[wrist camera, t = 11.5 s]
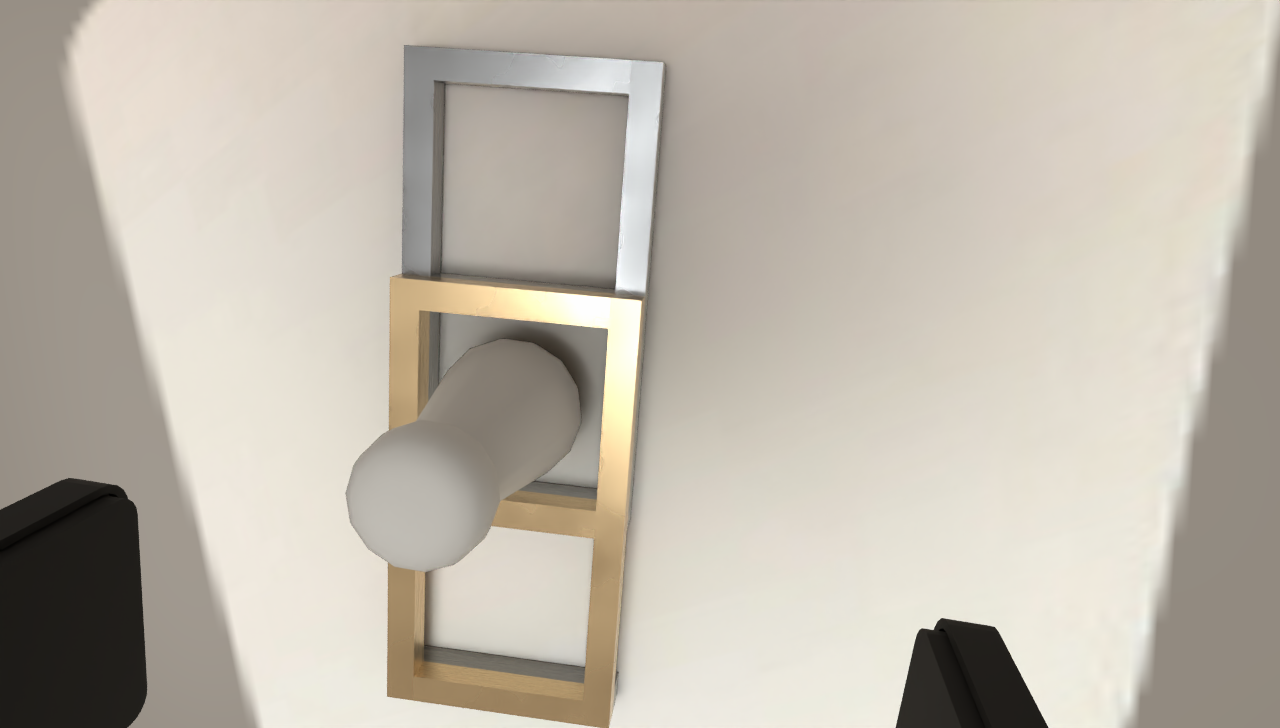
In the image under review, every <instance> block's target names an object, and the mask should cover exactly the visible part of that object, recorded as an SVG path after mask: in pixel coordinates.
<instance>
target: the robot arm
mask: <svg viewBox="0 0 1280 728" xmlns="http://www.w3.org/2000/svg"><path fill="white" fill-rule="evenodd" d="M145 659H146V658H145V641H144V624H143V606H142V587H141V568H140V550H139V532H138V514H137V509H136V506H135V505H134V503H133V502H132V501H130V500H129V499H128V497H127V495H126V493H125V492H124V490H123V489H122V488H120V487H119V486H117V485H111V484H105V483H99V482H93V481H86V480H80V479H73V478H68V479H65V480H61V481H59V482H57V483H55V484H53V485H51V486H49V487H46V488H44V489H42V490H40V491H38V492H36V493H34V494H32V495H30V496H28V497H26V498H24V499H22V500H20V501H17V502H15V503H14V504H11V505H9V506H7V507H5V508H3V509H1V510H0V728H127V727H129V725H131V724H132V723H133V721H134V720H135V719H136V718H137V716H138V714H139V713H140V712H141V709H142V707H143V705H144V703H145V699H146V695H147V678H146V660H145ZM896 728H1048V726H1047V724H1046V722H1045V720H1044V718H1043V716H1042V715H1041V713H1040V711H1039V709H1038V707H1037V705H1036V703H1035V701H1034V699H1033V697H1032V695H1031V693H1030V691H1029V690H1028V688H1027V686H1026V684H1025V682H1024V680H1023V678H1022V676H1021V674H1020V672H1019V670H1018V668H1017V666H1016V665H1015V663H1014V661H1013V659H1012V657H1011V655H1010V653H1009V651H1008V649H1007V647H1006V645H1005V643H1004V641H1003V640H1002V638H1001V636H1000V634H999V632H998V631H997V629H996V628H995V627H992V626H987V625H981V624H975V623H968V622H962V621H956V620H950V619H944V618H941V619H940V620H939V621H938V622H937V624H936V626H935V628H934V630H929V629H923V628H922V629H920V630H919V632H918V634H917V637H916V640H915V644H914V648H913V653H912V657H911V662H910V666H909V671H908V675H907V680H906V684H905V689H904V693H903V698H902V702H901V707H900V711H899V716H898V720H897V725H896Z"/></svg>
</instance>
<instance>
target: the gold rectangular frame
mask: <svg viewBox="0 0 1280 728" xmlns="http://www.w3.org/2000/svg"><path fill="white" fill-rule="evenodd" d="M644 304H645V296H635V295H625V294H614V293H603V292H593V291H582V290H571V289H561V288H550V287H539V286H528V285H518V284H507V283H496V282H486V281H475V280H464V279H453V278H443V277H432V276H421V275H411V274H399V275H396V276H392V277H390V351H389V430H391V429H393V428H396V427H399V426H402V425H406V424H409V423H412V422H415V421H416V420H417V419H418V417H419V416H420V414H421V412H422V411H423V409H424V408H425V406H426V404H427V403H428V386H429V330H430V311H433V312H443V313H454V314H464V315H474V316H484V317H494V318H505V319H515V320H525V321H535V322H546V323H556V324H566V325H576V326H587V327H597V328H607V329H608V343H607V357H606V372H605V387H604V401H603V416H602V431H601V445H600V460H599V474H598V489H597V500H595V499H587V498H578V497H570V496H561V495H553V494H544V493H536V492H527V491H519V490H518V491H516V492H514V493H513V494H511V495H509V496H508V497H506V498H505V499H503V500H501V501H500V503H499V506H498V508H497V511H496V514H495V517H494V519H493V522H492V525H491V526H497V527H505V528H513V529H521V530H529V531H537V532H546V533H554V534H562V535H570V536H578V537H586V538H594V548H593V562H592V577H591V591H590V606H589V621H588V635H587V650H586V665H585V668H584V667H577V666H569V665H562V664H555V663H548V662H541V661H533V660H526V659H519V658H512V657H505V656H497V655H490V654H483V653H476V652H468V651H461V650H454V649H447V648H440V647H432V646H425V645H424V611H425V572H422V571H416V570H410V569H404V568H399V567H394V566H393V565H391V564H390V563H388V657H387V697H393V698H400V699H407V700H414V701H421V702H428V703H435V704H442V705H448V706H455V707H462V708H469V709H476V710H483V711H490V712H497V713H503V714H510V715H517V716H524V717H531V718H538V719H545V720H552V721H558V722H565V723H572V724H579V725H586V726H593V727H600V728H609V725H610V721H611V717H612V712H613V708H614V704H615V700H616V696H617V684H618V672H616V663H617V650H618V637H619V625H620V612H621V599H622V586H623V573H624V560H625V548H626V535H627V522H628V509H629V496H630V484H631V471H632V458H633V445H634V432H635V419H636V407H637V394H638V381H639V368H640V355H641V342H642V330H643V317H644Z"/></svg>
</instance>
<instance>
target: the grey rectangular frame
mask: <svg viewBox="0 0 1280 728" xmlns="http://www.w3.org/2000/svg"><path fill="white" fill-rule="evenodd" d="M665 75H666V65H665V64H664V62H654V61H638V60H623V59H608V58H592V57H577V56H562V55H547V54H531V53H516V52H501V51H485V50H470V49H455V48H440V47H424V46H409V45H404V125H403V226H402V274H411V275H421V276H432V277H443V278H453V279H464V280H475V281H486V282H496V283H507V284H518V285H528V286H539V287H550V288H561V289H571V290H582V291H593V292H603V293H614V294H625V295H635V296H645V304H644V317H643V330H642V342H641V355H640V368H639V381H638V394H637V407H636V419H635V432H634V445H633V458H632V471H631V484H630V496H629V509H628V522H627V528H628V525H629V522H630V519H631V506H632V494H633V481H634V468H635V456H636V443H637V430H638V418H639V405H640V392H641V379H642V367H643V354H644V341H645V329H646V316H647V303H648V291H649V278H650V265H651V253H652V240H653V227H654V215H655V202H656V189H657V176H658V164H659V151H660V138H661V126H662V113H663V100H664V88H665ZM445 83H446V84H460V85H475V86H489V87H503V88H517V89H532V90H546V91H560V92H575V93H589V94H603V95H618V96H629V102H628V116H627V131H626V145H625V159H624V174H623V188H622V202H621V217H620V231H619V246H618V260H617V274H616V289H608V288H597V287H587V286H576V285H565V284H554V283H543V282H533V281H522V280H511V279H500V278H490V277H479V276H468V275H457V274H447V273H441V238H442V190H443V142H444V93H445ZM439 335H440V312H433V311H430V330H429V386H428V401H429V400H430V398H431V396H432V395H433V393H434V392H435V390H436V388H437V387H438V384H439ZM519 491H527V492H536V493H544V494H553V495H561V496H570V497H578V498H587V499H595V500H597V489H595V488H586V487H578V486H569V485H561V484H552V483H543V482H535V481H532V482H531V483H529V484H527V485H526V486H524V487H523V488H521V489H519Z"/></svg>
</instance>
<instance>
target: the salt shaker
mask: <svg viewBox="0 0 1280 728" xmlns="http://www.w3.org/2000/svg"><path fill="white" fill-rule="evenodd" d="M581 419H582V417H581V409H580V401H579V393H578V387H577V385H576V384H575V382H574V380H573V379H572V377H571V375H570V374H569V372H568V371H567V369H566V367H565V366H564V364H563V362H562V361H561V360H560V359H558V358H557V357H555V356H554V355H552V354H551V353H549V352H548V351H546V350H545V349H543V348H542V347H540V346H539V345H537V344H536V343H531V342H525V341H518V340H512V339H506V338H503V339H499V340H496V341H492V342H489V343H486V344H483V345H480V346H476V347H473V348H470V349H469V350H468V351H467V352H466V353H465V354H464V355H463V356H462V357H461V358H460V359H459V360H458V361H457V362H456V363H455V364H454V365H453V366H452V367H451V368H450V369H449V370H448V371H447V373H446V374H445V376H444V377H443V379H442V381H441V382H440V384H439V385H438V387H437V388H436V390H435V392H434V393H433V395H432V396H431V398H430V400H429V401H428V403H427V404H426V406H425V408H424V409H423V411H422V412H421V414H420V416H419V417H418V419H417V420H416V421H415V422H412V423H409V424H406V425H402V426H399V427H396V428H393V429H391V430H389V431H387V432H386V433H384V434H382V435H381V436H380V437H379V438H378V439H377V440H376V441H375V442H374V443H373V444H372V445H371V446H370V447H369V448H368V449H367V450H366V451H364V452H363V453H362V454H361V455H360V457H359V458H358V460H357V461H356V462H355V464H354V465H353V469H352V472H351V476H350V479H349V483H348V486H347V490H346V499H347V505H348V511H349V518H350V523H351V525H352V526H353V528H354V529H355V531H356V532H357V533H358V535H359V536H360V538H361V539H362V541H363V542H364V544H365V545H366V547H367V548H368V549H369V550H370V551H372V552H373V553H375V554H376V555H378V556H379V557H381V558H382V559H384V560H385V561H387V562H388V563H390V564H391V565H393V566H394V567H399V568H404V569H410V570H416V571H422V572H427V571H431V570H435V569H439V568H443V567H447V566H451V565H454V564H456V563H457V562H458V561H460V560H461V559H463V558H464V557H465V556H466V555H467V554H468V553H469V552H470V551H471V550H472V549H474V548H475V547H476V546H477V545H478V544H479V543H480V542H481V541H482V540H483V539H484V538H485V537H486V535H487V533H488V531H489V529H490V527H491V525H492V522H493V519H494V517H495V514H496V511H497V508H498V506H499V503H500V501H501V500H503V499H505V498H506V497H508V496H509V495H511V494H513V493H514V492H516V491H518V490H519V489H521V488H523V487H524V486H526V485H527V484H529V483H531V482H532V481H534V480H536V479H537V478H539V477H541V476H542V475H544V474H545V473H547V472H548V471H550V470H551V469H552V468H553V467H554V466H555V465H556V464H557V463H558V462H559V461H560V460H561V459H562V458H563V457H564V456H565V455H566V454H567V453H569V452H570V450H571V447H572V445H573V442H574V440H575V437H576V435H577V432H578V429H579V427H580V424H581Z"/></svg>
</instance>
